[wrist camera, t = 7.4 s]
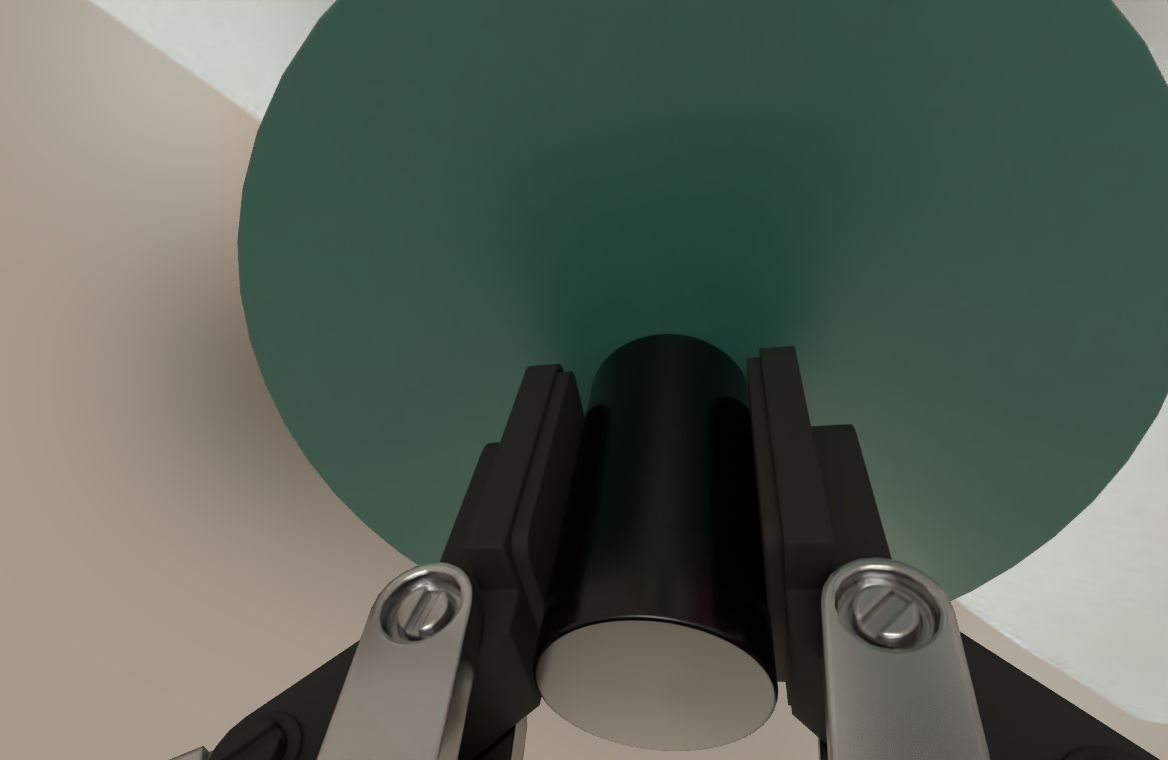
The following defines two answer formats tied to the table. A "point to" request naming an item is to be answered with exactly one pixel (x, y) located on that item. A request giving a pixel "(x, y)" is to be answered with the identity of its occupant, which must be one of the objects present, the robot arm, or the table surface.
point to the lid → (712, 290)
